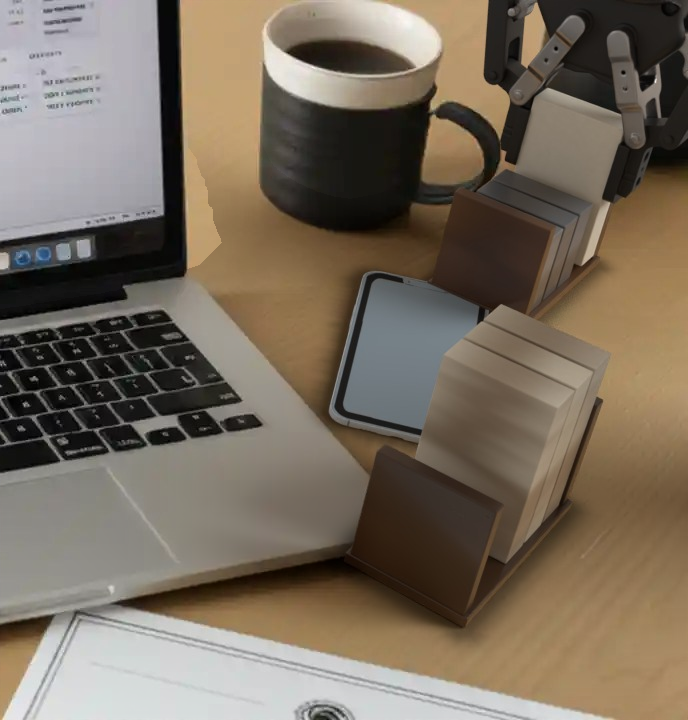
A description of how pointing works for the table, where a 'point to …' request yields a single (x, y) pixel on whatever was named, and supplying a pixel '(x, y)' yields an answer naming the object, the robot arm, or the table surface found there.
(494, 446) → the brown book rack
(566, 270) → the brown coaster holder
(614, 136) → the beige rectangular block
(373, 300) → the smartphone
